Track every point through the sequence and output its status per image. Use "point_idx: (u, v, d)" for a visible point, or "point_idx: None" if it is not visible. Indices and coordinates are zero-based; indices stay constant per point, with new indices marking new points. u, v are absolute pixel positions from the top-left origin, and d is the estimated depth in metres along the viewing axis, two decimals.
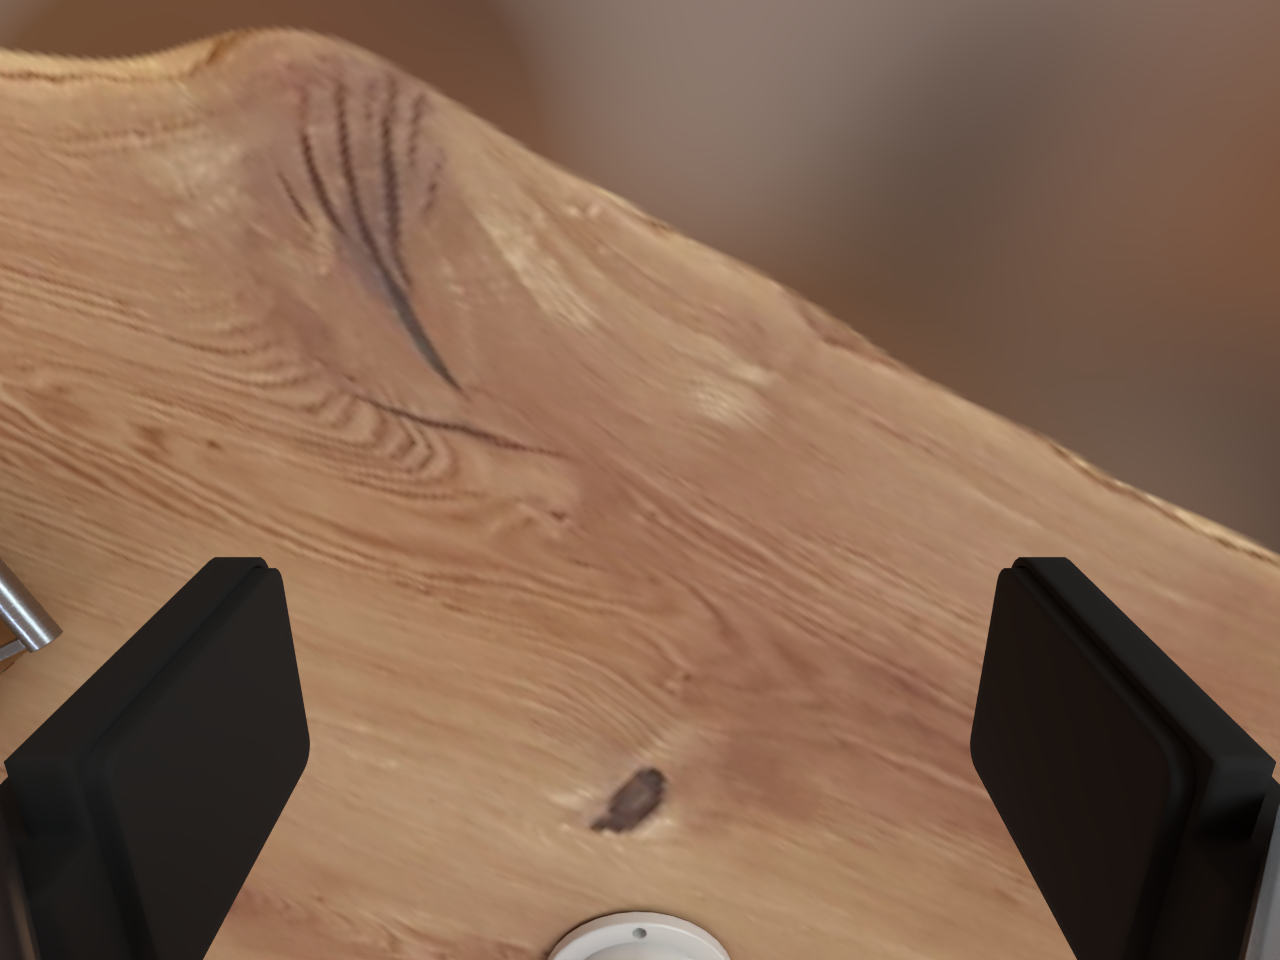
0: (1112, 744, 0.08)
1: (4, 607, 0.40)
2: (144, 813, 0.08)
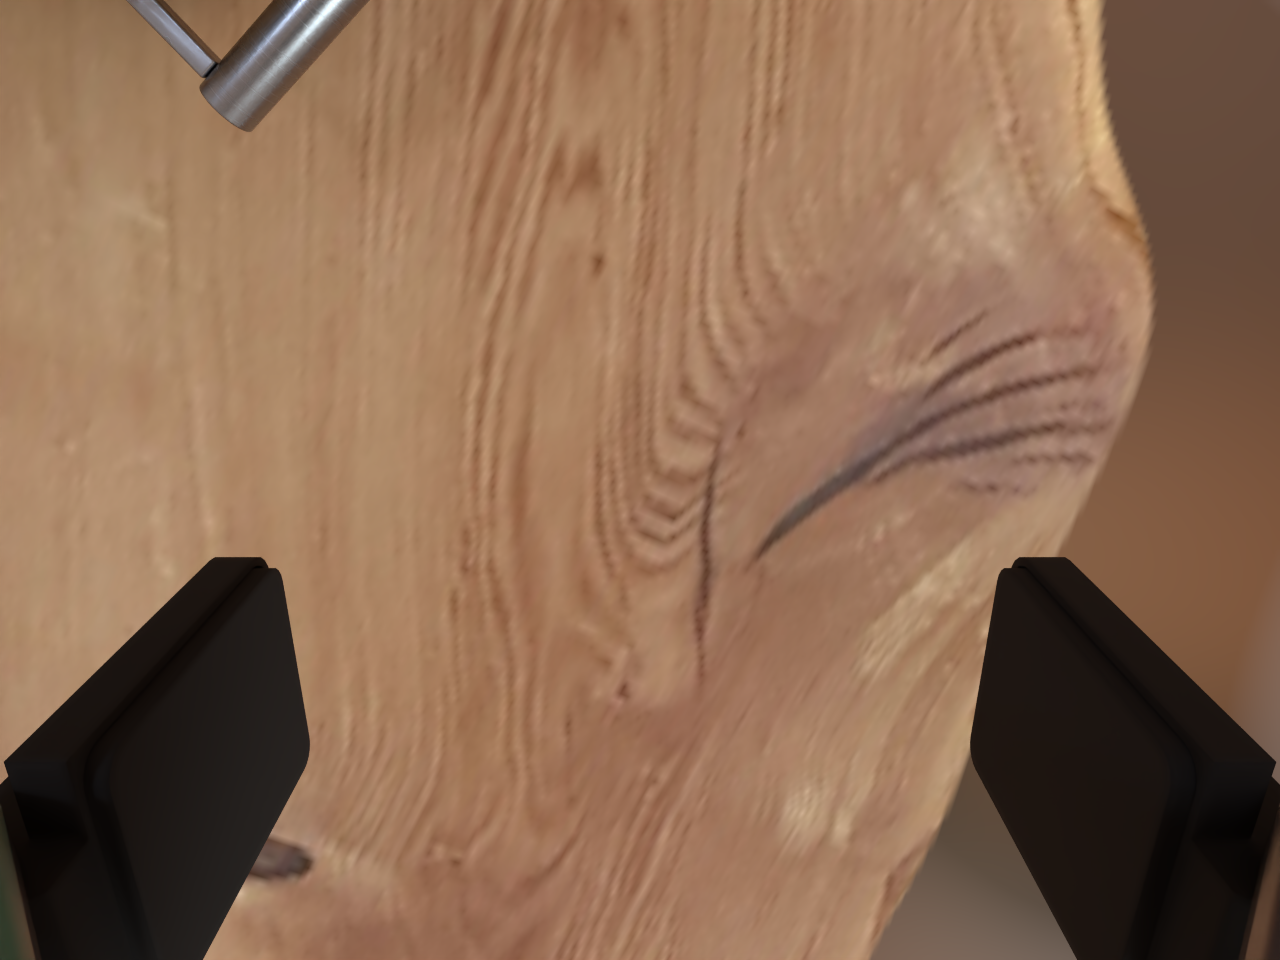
0: (1112, 744, 0.08)
1: (281, 45, 0.22)
2: (144, 813, 0.08)
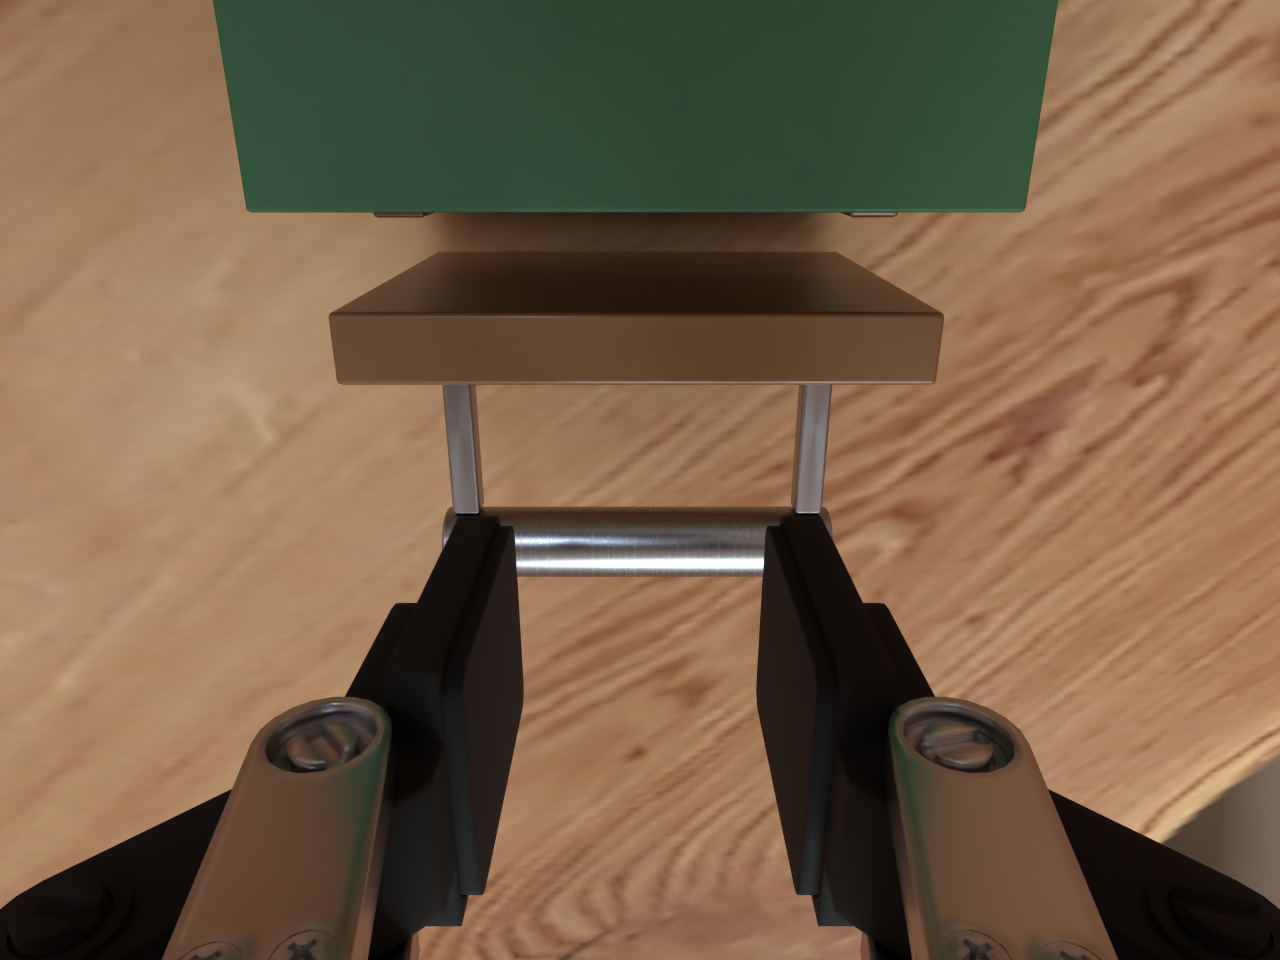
0: (800, 669, 0.09)
1: (557, 566, 0.19)
2: (473, 726, 0.09)
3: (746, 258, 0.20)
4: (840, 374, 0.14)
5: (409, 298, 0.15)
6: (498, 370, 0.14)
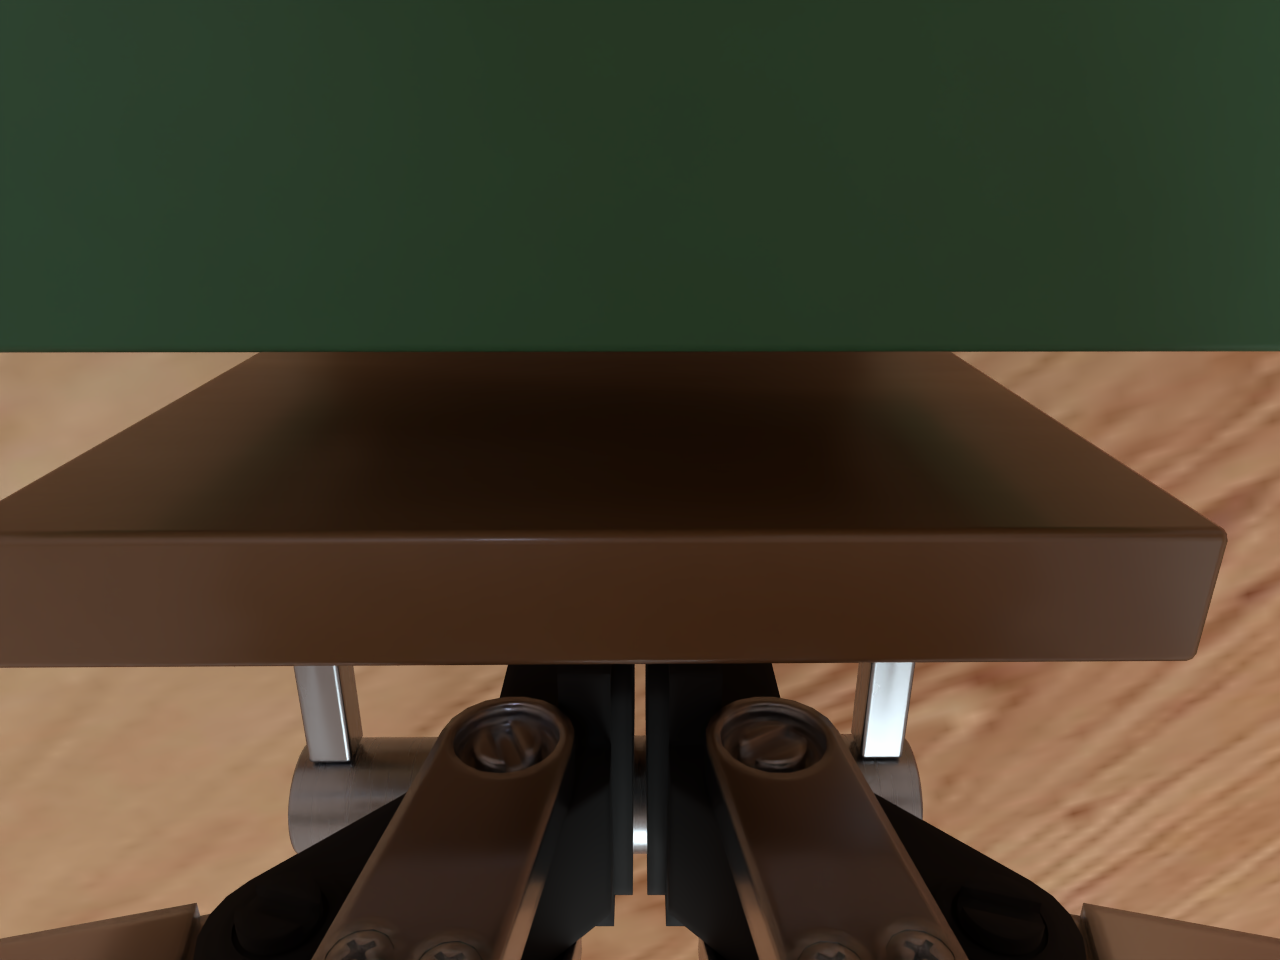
0: (647, 669, 0.09)
1: None
2: None
3: None
4: (1007, 646, 0.07)
5: (154, 471, 0.08)
6: (307, 641, 0.07)
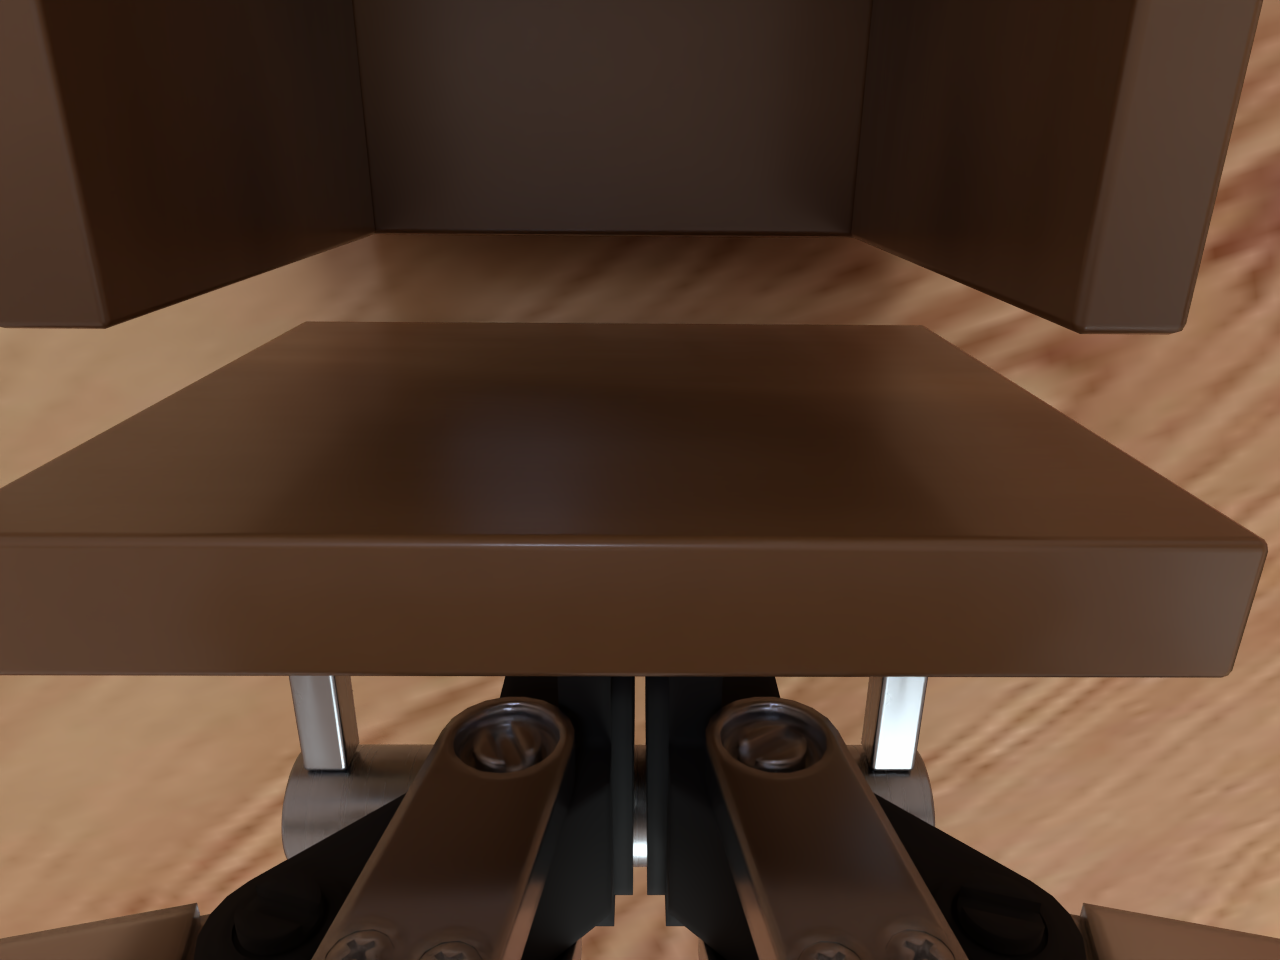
0: None
1: None
2: (632, 726, 0.09)
3: (788, 341, 0.12)
4: (1033, 660, 0.07)
5: (141, 470, 0.07)
6: (298, 650, 0.07)
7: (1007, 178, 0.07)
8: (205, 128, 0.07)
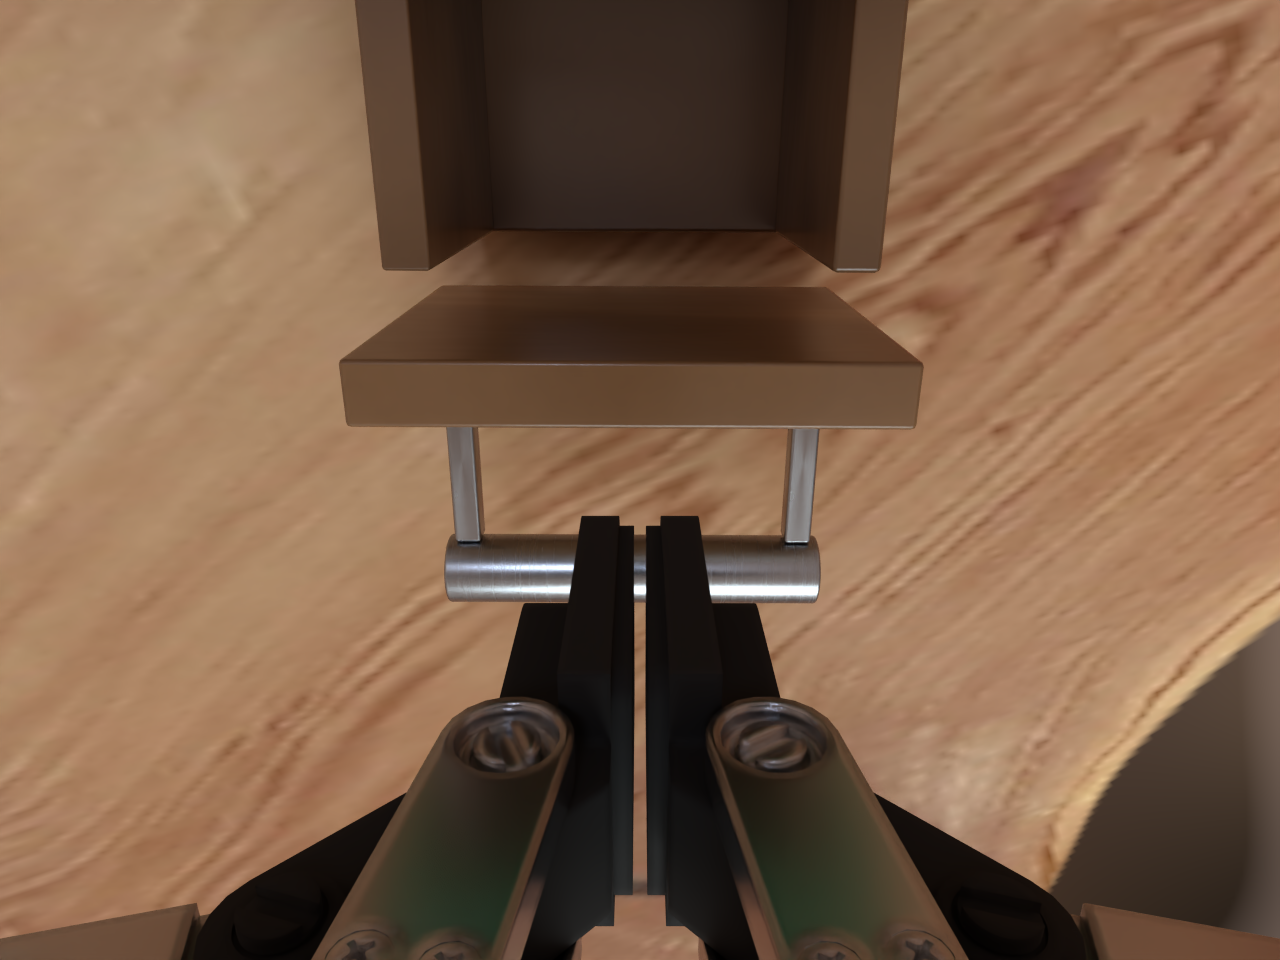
0: (647, 669, 0.09)
1: (555, 592, 0.20)
2: None
3: (739, 295, 0.21)
4: (825, 419, 0.15)
5: (415, 342, 0.16)
6: (500, 414, 0.15)
7: (819, 204, 0.15)
8: (448, 181, 0.15)
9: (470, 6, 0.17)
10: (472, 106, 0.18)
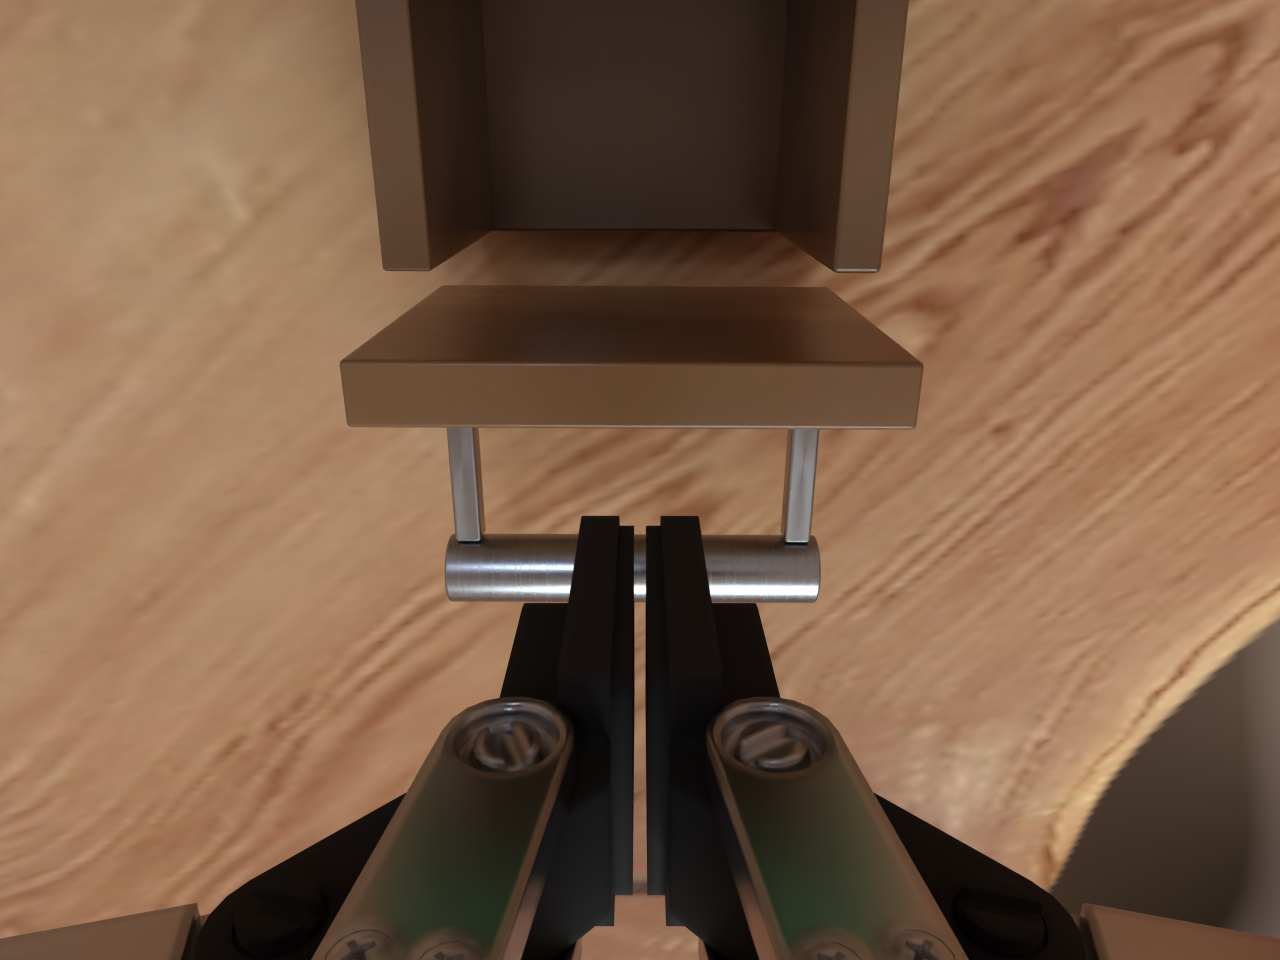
0: (647, 669, 0.09)
1: (555, 592, 0.20)
2: None
3: (739, 295, 0.21)
4: (825, 420, 0.15)
5: (416, 343, 0.16)
6: (500, 414, 0.15)
7: (820, 204, 0.15)
8: (449, 182, 0.15)
9: (470, 6, 0.17)
10: (472, 106, 0.18)
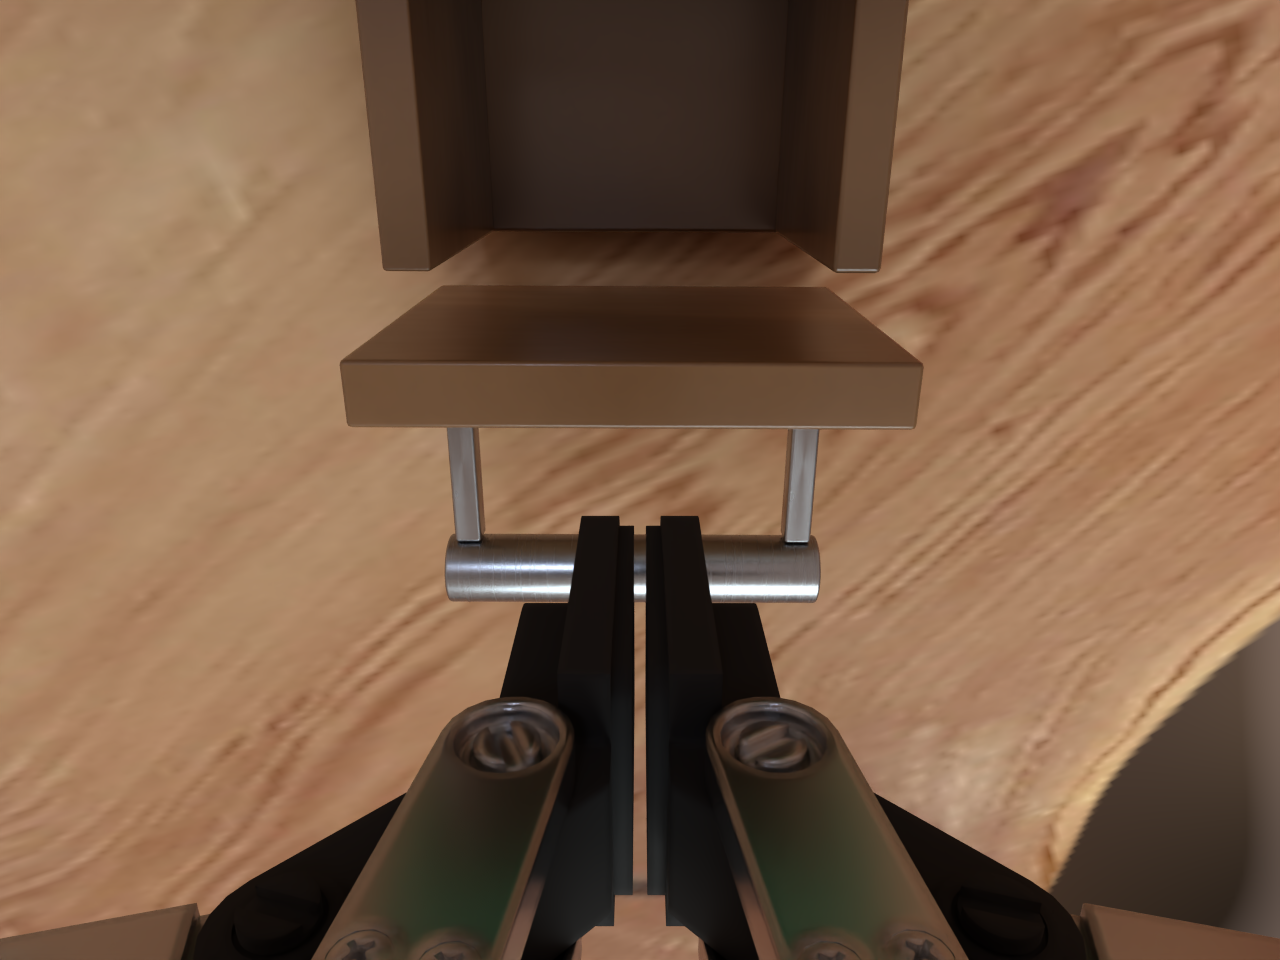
0: (647, 669, 0.09)
1: (555, 592, 0.20)
2: None
3: (739, 295, 0.21)
4: (825, 420, 0.15)
5: (416, 343, 0.16)
6: (500, 414, 0.15)
7: (820, 204, 0.15)
8: (449, 182, 0.15)
9: (470, 6, 0.17)
10: (472, 106, 0.18)
